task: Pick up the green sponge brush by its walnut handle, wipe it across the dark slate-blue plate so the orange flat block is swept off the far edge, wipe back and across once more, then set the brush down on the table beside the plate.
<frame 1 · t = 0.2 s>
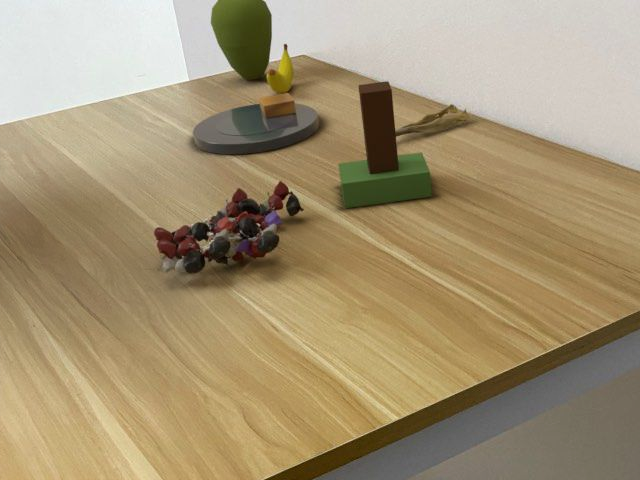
orange flat block: (278, 111, 105), point 1 cm above the table, touching plate
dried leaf: (419, 112, 96), point 2 cm above the table
plate: (257, 132, 103), on the table
fruit: (284, 93, 116), on the table
green mango: (253, 80, 122), on the table
dark lumpy cluster: (237, 257, 77), on the table
sponge brush: (385, 192, 85), on the table
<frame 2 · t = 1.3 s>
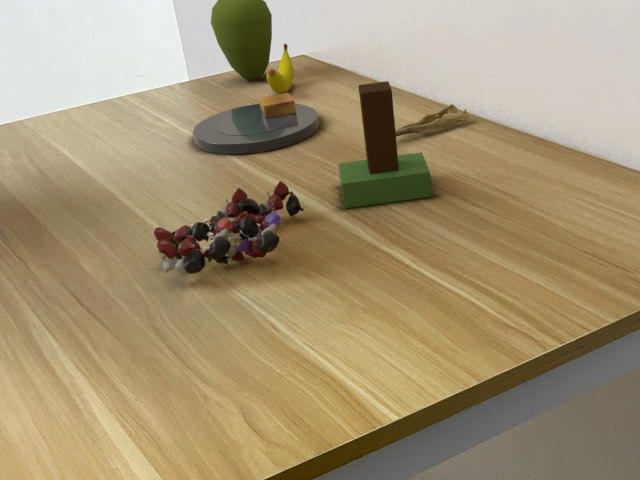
nothing on the table moved.
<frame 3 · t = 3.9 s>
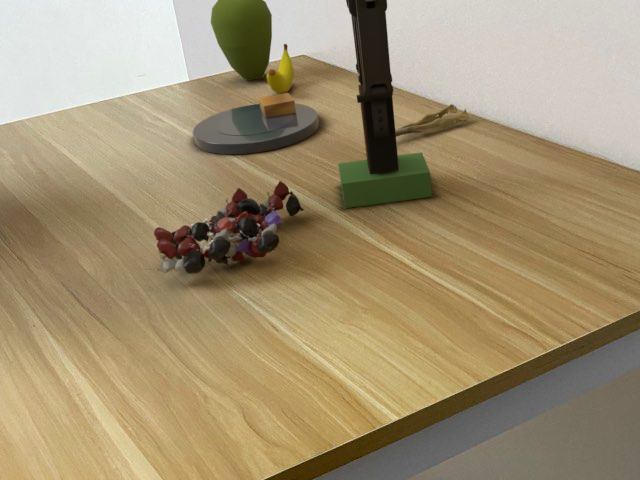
hand: (382, 161, 83), 3 cm above the table, tool pointing down, fingers closed on sponge brush, 3 cm apart
sponge brush: (385, 192, 85), on the table, touching gripper
everything else where it was.
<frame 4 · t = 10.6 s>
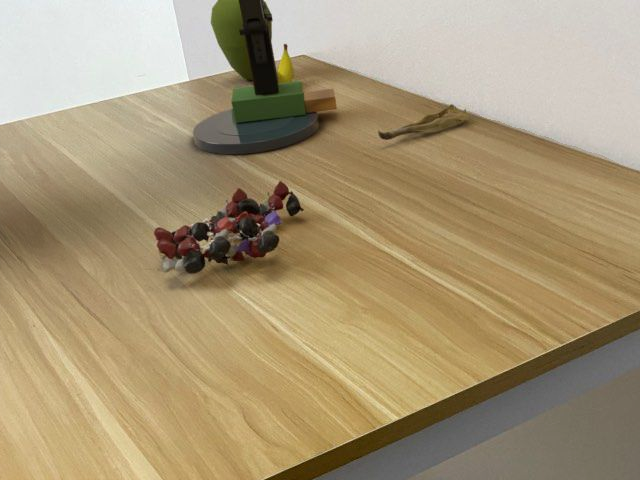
hand: (267, 87, 102), 4 cm above the table, tool pointing down, fingers closed on sponge brush, 3 cm apart
orange flat block: (320, 107, 104), point 1 cm above the table, touching sponge brush
sponge brush: (270, 112, 104), point 1 cm above the table, touching orange flat block, gripper
everything else where it was.
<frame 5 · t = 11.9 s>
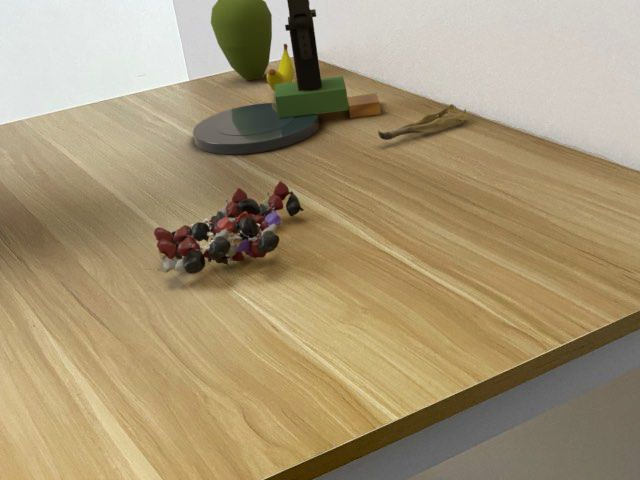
hand: (310, 82, 103), 4 cm above the table, tool pointing down, fingers closed on sponge brush, 3 cm apart
orange flat block: (364, 111, 105), on the table
sponge brush: (312, 107, 105), point 1 cm above the table, touching gripper, plate
everything else where it was.
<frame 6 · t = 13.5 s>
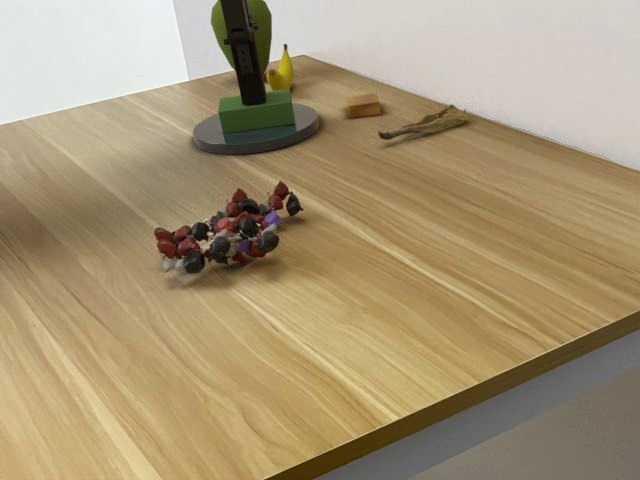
hand: (254, 97, 100), 4 cm above the table, tool pointing down, fingers closed on sponge brush, 3 cm apart
sponge brush: (258, 121, 102), point 1 cm above the table, touching gripper
everything else where it was.
when the fingers open (3 cm above the table, at t = 23.3 s): sponge brush stays where it is, on the table.
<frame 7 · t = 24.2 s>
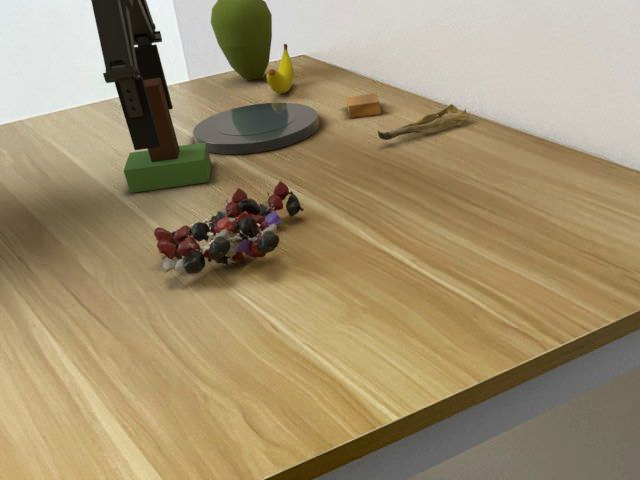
hand: (155, 128, 90), 6 cm above the table, tool pointing down, fingers open, 13 cm apart
sponge brush: (172, 178, 93), on the table
everything else where it was.
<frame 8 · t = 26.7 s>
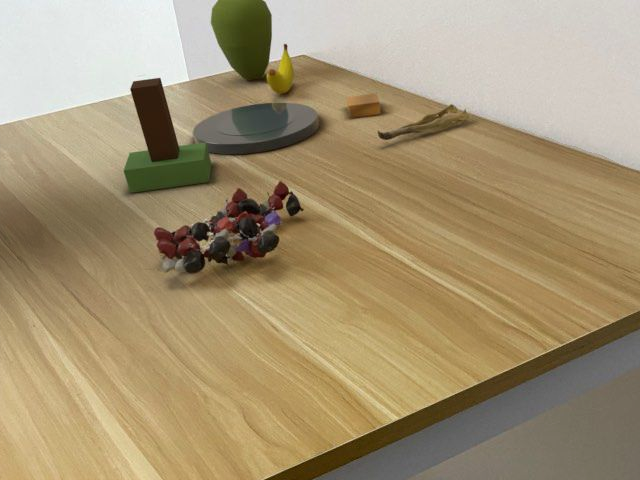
nothing on the table moved.
at the end: orange flat block inside the target area on the table beside the plate (0.9 cm from its centre), on the table; sponge brush inside the target area (0.2 cm from its centre), on the table; sponge brush tilted 0° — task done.
